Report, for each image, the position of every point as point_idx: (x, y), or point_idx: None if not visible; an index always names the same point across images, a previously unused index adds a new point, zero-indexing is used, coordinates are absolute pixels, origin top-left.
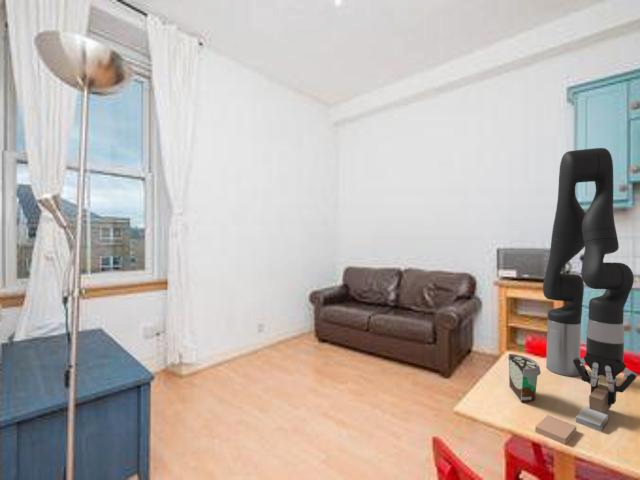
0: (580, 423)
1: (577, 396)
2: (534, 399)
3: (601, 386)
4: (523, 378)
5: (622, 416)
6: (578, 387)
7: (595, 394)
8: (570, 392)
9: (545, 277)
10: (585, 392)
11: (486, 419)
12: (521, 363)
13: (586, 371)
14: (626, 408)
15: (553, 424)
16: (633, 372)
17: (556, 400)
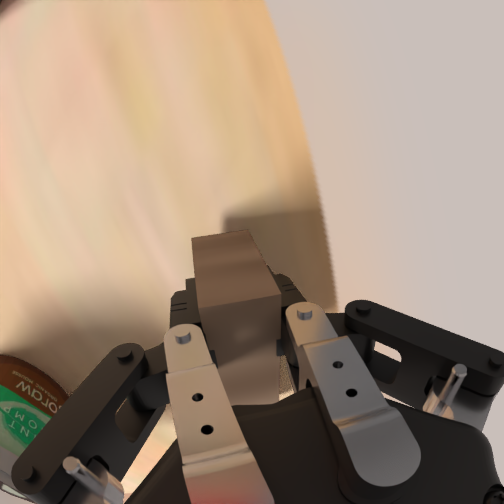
0: None
1: (80, 211)
2: (62, 389)
3: (226, 330)
4: None
5: (287, 233)
6: (36, 93)
7: None
8: (43, 198)
9: None
10: (76, 117)
11: (130, 492)
12: (2, 485)
13: (115, 407)
14: (272, 121)
15: None
16: (496, 391)
17: (80, 338)
